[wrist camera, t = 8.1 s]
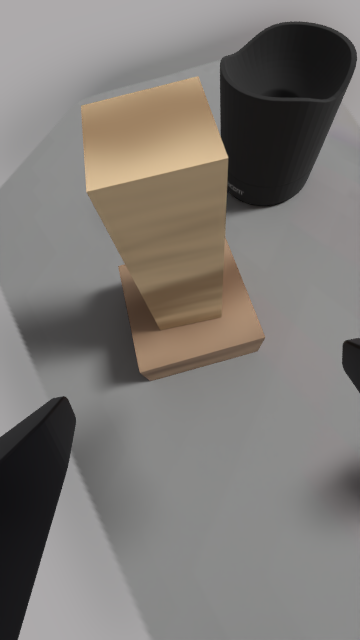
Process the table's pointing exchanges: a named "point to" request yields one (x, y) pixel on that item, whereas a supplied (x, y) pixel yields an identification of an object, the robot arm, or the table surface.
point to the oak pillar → (162, 195)
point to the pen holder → (281, 107)
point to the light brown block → (193, 329)
